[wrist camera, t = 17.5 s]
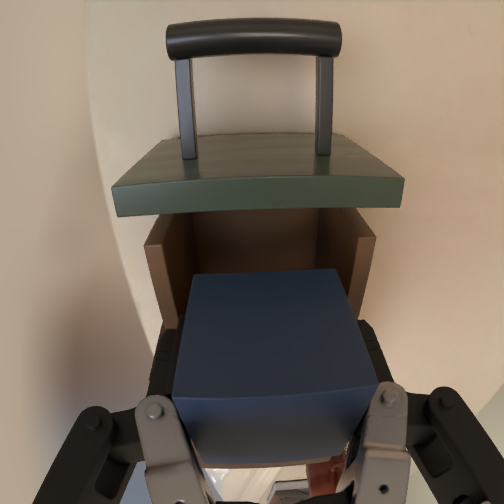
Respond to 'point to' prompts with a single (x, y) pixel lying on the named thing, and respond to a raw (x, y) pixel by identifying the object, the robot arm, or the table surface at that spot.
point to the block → (271, 367)
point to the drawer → (255, 178)
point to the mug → (325, 475)
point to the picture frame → (289, 492)
